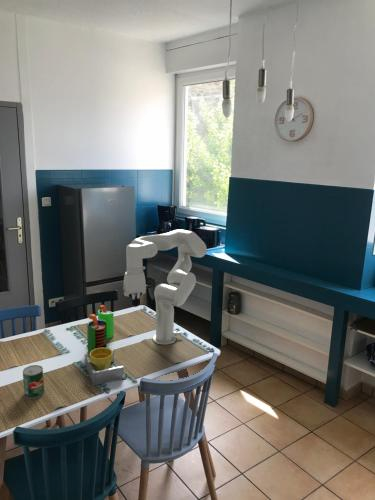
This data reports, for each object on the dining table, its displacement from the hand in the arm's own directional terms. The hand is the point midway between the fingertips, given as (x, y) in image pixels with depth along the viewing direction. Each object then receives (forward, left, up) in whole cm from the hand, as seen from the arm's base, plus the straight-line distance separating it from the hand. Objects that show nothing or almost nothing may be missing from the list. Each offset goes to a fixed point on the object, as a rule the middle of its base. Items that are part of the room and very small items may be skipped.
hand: (135, 305), depth 197 cm
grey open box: (+18, +10, -27) cm, 34 cm away
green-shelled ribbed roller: (+8, -27, -27) cm, 39 cm away
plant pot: (+19, +9, -27) cm, 34 cm away
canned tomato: (+49, +15, -27) cm, 58 cm away
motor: (+17, -10, -27) cm, 33 cm away
